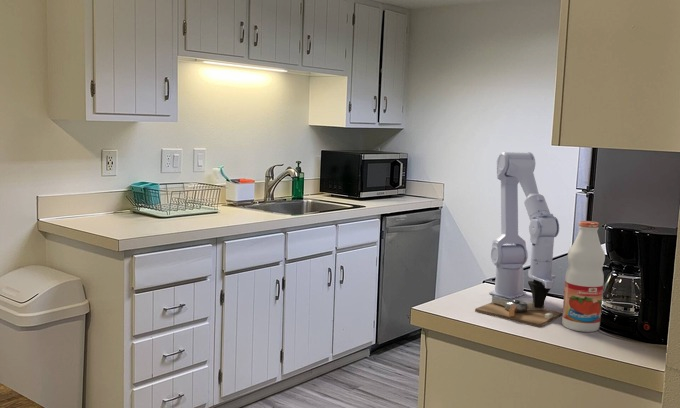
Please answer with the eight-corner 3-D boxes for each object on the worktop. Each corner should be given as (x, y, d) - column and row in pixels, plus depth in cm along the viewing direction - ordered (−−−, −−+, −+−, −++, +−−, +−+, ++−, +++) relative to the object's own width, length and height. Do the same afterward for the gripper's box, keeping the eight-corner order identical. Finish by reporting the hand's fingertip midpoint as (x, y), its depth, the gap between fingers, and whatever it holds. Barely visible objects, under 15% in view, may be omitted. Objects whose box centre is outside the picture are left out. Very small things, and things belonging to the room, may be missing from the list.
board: (500, 301, 195) (500, 298, 195) (562, 315, 182) (562, 312, 182) (475, 311, 184) (475, 308, 184) (539, 327, 171) (539, 324, 171)
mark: (548, 316, 179) (548, 312, 178) (552, 317, 178) (552, 313, 178) (544, 318, 177) (544, 314, 177) (548, 319, 176) (548, 315, 176)
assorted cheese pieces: (492, 302, 191) (493, 293, 190) (544, 309, 185) (545, 300, 185) (484, 313, 179) (484, 303, 179) (539, 321, 173) (540, 311, 173)
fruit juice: (590, 321, 178) (599, 219, 174) (605, 333, 168) (615, 225, 165) (556, 321, 177) (564, 218, 173) (569, 332, 168) (578, 224, 164)
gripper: (566, 265, 175) (562, 315, 177) (546, 254, 189) (542, 300, 191) (540, 265, 175) (536, 314, 176) (522, 254, 189) (519, 299, 191)
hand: (538, 307), depth 184 cm, fingers closed, pressing on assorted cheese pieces
